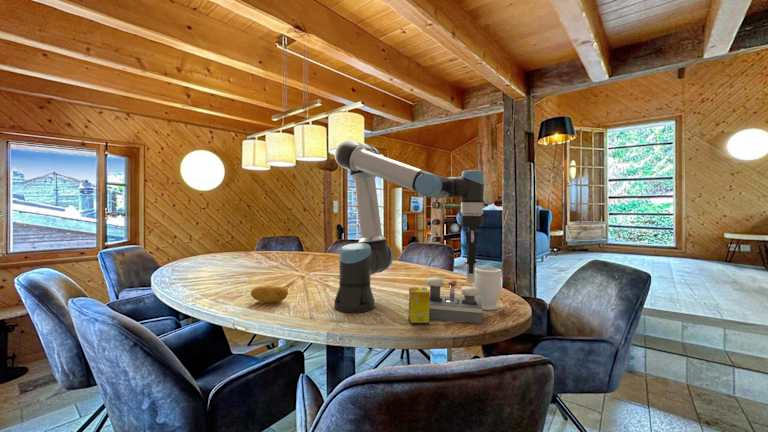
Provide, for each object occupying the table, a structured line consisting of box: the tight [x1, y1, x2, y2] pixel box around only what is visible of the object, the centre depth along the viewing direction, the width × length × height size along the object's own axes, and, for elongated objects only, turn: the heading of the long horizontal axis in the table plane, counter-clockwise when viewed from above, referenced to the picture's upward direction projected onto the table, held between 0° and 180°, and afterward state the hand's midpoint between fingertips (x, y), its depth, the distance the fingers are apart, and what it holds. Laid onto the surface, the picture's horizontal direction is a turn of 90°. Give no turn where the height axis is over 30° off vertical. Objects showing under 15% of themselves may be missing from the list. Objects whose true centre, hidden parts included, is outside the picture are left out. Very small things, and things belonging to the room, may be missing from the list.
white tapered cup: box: [472, 265, 502, 311], centre depth 127 cm, size 11×10×15 cm
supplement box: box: [408, 286, 430, 326], centre depth 110 cm, size 6×6×11 cm
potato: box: [250, 285, 289, 304], centre depth 128 cm, size 8×14×7 cm, turn 86°
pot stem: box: [446, 279, 458, 304], centre depth 117 cm, size 4×4×12 cm
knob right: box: [460, 285, 478, 305], centre depth 116 cm, size 6×6×7 cm
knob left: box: [426, 276, 444, 300], centre depth 119 cm, size 6×6×7 cm
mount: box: [429, 295, 484, 324], centre depth 117 cm, size 20×12×5 cm, turn 78°
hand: (470, 282), depth 116 cm, fingers closed
